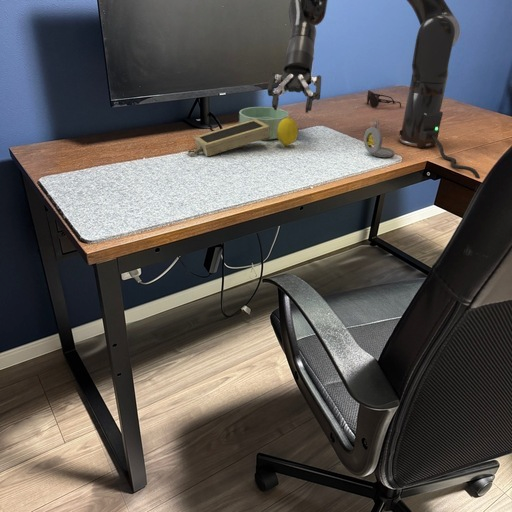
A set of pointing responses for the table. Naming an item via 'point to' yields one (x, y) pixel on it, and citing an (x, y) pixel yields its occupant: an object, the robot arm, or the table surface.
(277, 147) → the table surface
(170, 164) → the table surface
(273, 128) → the bowl
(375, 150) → the pocket watch
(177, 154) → the table surface
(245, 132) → the box
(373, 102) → the sunglasses
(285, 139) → the lemon
